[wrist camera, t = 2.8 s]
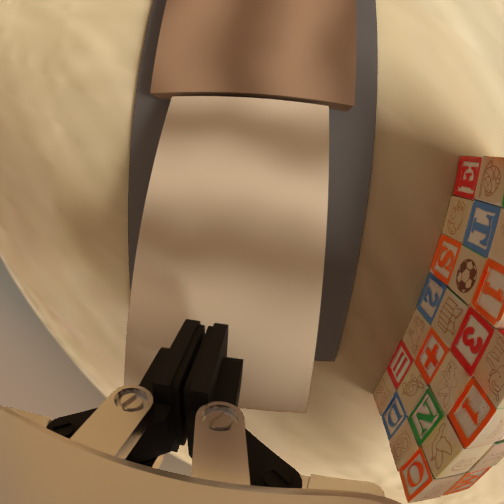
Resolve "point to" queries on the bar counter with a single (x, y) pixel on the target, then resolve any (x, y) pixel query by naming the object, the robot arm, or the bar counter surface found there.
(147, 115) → the underlay mat
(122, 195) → the bar counter surface
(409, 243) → the bar counter surface
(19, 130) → the bar counter surface
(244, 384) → the plank
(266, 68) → the laid board
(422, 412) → the stack of blocks
